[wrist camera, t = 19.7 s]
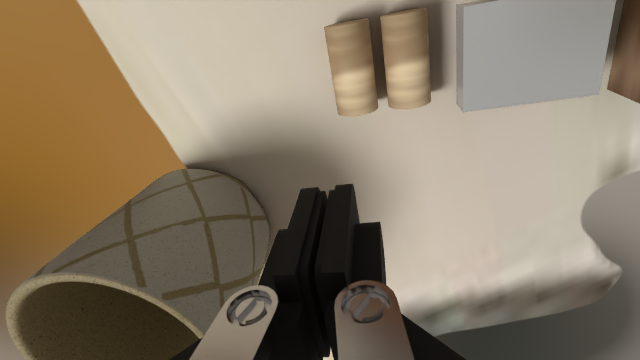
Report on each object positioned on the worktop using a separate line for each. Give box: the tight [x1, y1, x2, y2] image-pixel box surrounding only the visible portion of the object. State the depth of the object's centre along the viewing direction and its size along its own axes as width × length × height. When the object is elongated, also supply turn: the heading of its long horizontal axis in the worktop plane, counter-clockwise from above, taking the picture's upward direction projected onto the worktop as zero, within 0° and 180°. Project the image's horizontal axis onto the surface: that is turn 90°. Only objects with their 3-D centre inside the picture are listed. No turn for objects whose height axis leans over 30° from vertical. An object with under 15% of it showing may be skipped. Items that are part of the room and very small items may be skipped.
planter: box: [6, 169, 270, 360], centre depth 38 cm, size 19×19×20 cm
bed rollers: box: [324, 8, 431, 116], centre depth 32 cm, size 9×21×4 cm, turn 100°
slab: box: [456, 0, 616, 112], centre depth 28 cm, size 8×10×2 cm
